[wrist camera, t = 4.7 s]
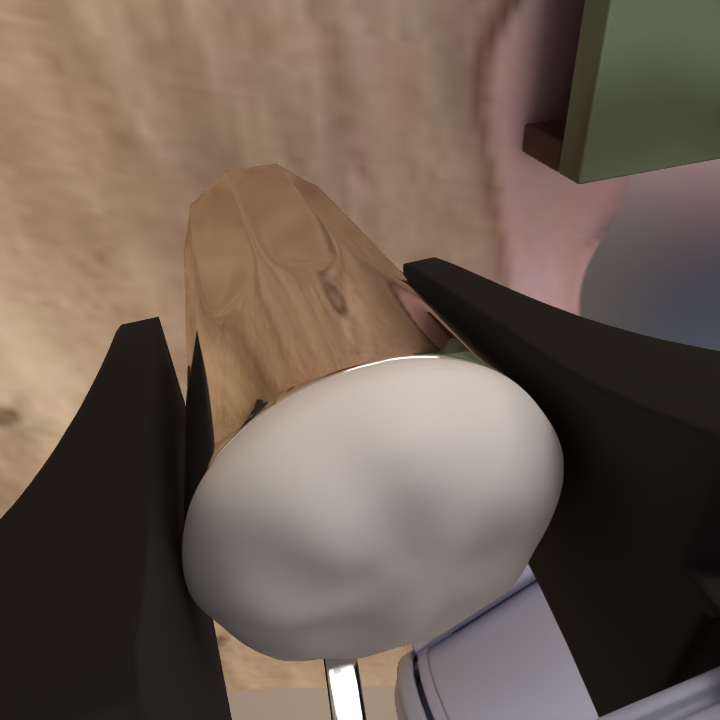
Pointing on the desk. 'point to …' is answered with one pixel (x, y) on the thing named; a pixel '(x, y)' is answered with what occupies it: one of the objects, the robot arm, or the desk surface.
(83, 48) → the desk surface
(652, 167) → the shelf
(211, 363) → the milkshake
